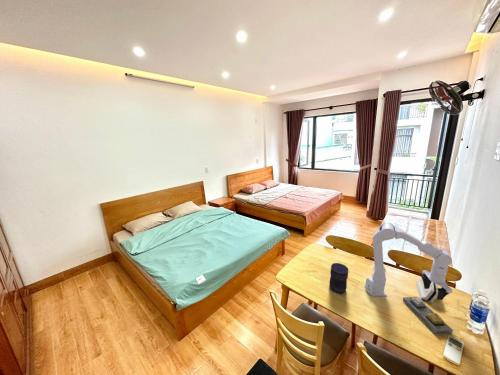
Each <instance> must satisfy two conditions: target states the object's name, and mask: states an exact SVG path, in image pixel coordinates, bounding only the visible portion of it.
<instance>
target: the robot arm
mask: <svg viewBox="0 0 500 375" xmlns="http://www.w3.org/2000/svg"><path fill="white" fill-rule="evenodd" d="M393 239H395V240H399V239H401V240H402V239H403V240H404V241H405V242H408V243H410V244H411V245H413V246H416V247H417V250H419V251H420V252H422V253H423V254H425V255H427V256H429V257H431V258H433V261H432V265H431V269H430V271H428V270H427V269H426V270H425V269H424V270H422V272H421V274H422V275H420V277H421V279H422V280H423V283H424V288H425V289H429V288H430V284H431V282H433V283H435V284H437V285H438V288H437V290H438V296H437V297H436V299H437V300H438V301H443V299H444V298H445V297H446V296H448V295H450V294H452V293H453V289H452V288H451V287H450V286H449V284H448V283H447V282H446V276H447V273H448V270H449V266H450V265H452V263H453V260H452V259H453V258H452V257H451V256H450V253H449V252H448V251H447V250H446V249H444V248H441V247H440V248H439V247H437V246H436V245H434V244H432V242H430V241H427V240H420V239H419V238H417V237H416V236H413V235H412V234H410V233H408V232H407V231H405V230H404V229H402V228H400V227H399V226H397V225H394V224H393V223H391V222H384V223H382V224H380V225H379V227H378V228H377V229H376V231H375V232H374V233H373V235H372V245H373V261H374V262H373V263H374V266H373V273H372V274H371V276H370V277H367V278H366V280H365V284H364V286H363V287H364V288H365V289H366V291H367V292H368V293H369V295H371V296H370V297H384V296H385V297H387V296H388V294H387V293H386V291H385V287H386V281H387V278H386V276H387V275H386V271H387V270H386V268H385V267H384V254H383V253H384V251H383V250H384V248H383V242H384V241H389V240H393Z"/></svg>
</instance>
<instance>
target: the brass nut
mask: <svg viewBox="0 0 500 375" xmlns="http://www.w3.org/2000/svg"><path fill="white" fill-rule="evenodd" d="M427 319H428V320H429V321H430V322H431V323H432V324H433V325H434V326H442V324H443V321H444V319H443V318H442V317H440V315H438V313H436V312H434V313H428V316H427ZM444 322H445V321H444Z"/></svg>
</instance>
